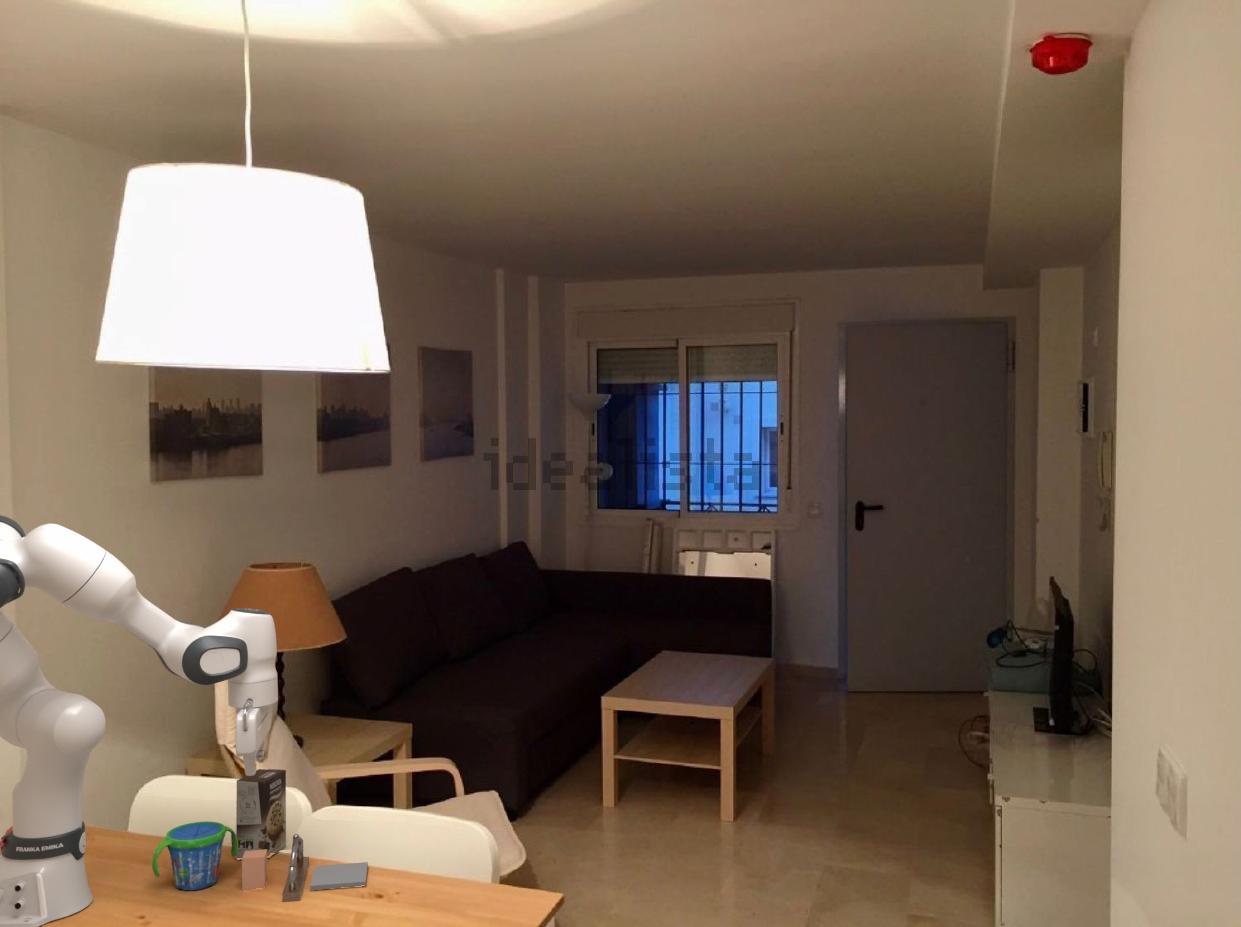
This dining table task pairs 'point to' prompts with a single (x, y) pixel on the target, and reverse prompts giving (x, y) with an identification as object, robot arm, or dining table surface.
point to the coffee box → (261, 812)
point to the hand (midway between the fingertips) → (254, 767)
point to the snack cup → (195, 853)
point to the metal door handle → (296, 871)
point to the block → (254, 869)
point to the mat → (339, 876)
